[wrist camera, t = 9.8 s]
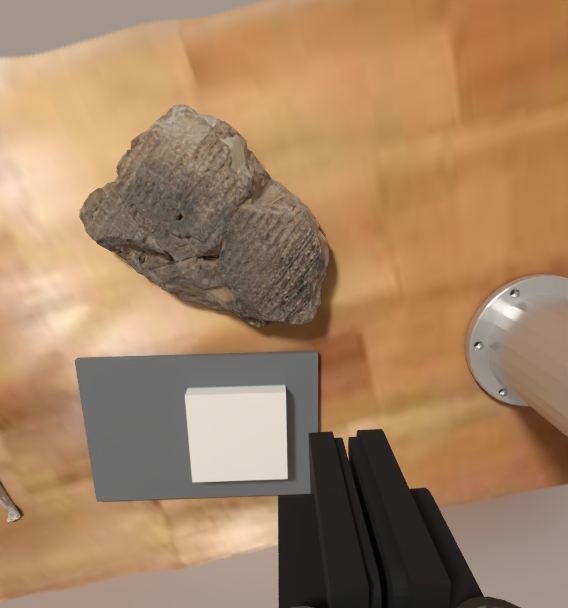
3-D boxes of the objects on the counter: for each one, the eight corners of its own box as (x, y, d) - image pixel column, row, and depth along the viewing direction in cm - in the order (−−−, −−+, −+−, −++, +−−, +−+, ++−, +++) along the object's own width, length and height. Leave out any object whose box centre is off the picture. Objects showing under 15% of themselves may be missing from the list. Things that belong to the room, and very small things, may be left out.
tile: (188, 387, 40) (285, 384, 40) (195, 471, 42) (287, 468, 42) (184, 395, 38) (285, 392, 38) (192, 482, 40) (287, 479, 40)
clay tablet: (365, 248, 38) (183, 83, 34) (378, 258, 33) (168, 68, 29) (262, 360, 41) (83, 220, 36) (261, 384, 36) (55, 227, 32)
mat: (317, 350, 40) (318, 353, 39) (317, 489, 43) (318, 493, 43) (77, 357, 39) (74, 360, 39) (99, 497, 43) (96, 501, 42)
